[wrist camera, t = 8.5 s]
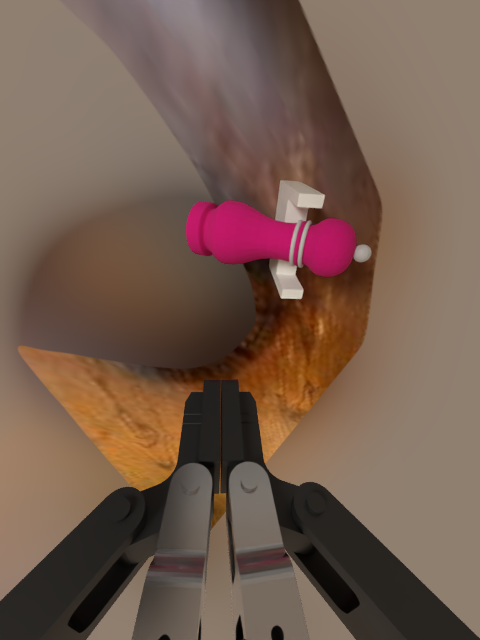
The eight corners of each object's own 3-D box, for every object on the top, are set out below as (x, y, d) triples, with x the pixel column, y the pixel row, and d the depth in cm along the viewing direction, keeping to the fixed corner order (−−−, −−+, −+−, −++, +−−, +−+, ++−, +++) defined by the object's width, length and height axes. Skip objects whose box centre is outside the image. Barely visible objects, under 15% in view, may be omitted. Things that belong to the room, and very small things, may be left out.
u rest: (280, 180, 33) (299, 193, 25) (300, 181, 34) (324, 195, 26) (268, 266, 40) (281, 298, 32) (285, 266, 40) (301, 298, 32)
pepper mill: (201, 266, 36) (357, 298, 30) (175, 241, 29) (369, 274, 23) (217, 218, 37) (371, 239, 31) (196, 183, 30) (387, 200, 24)
